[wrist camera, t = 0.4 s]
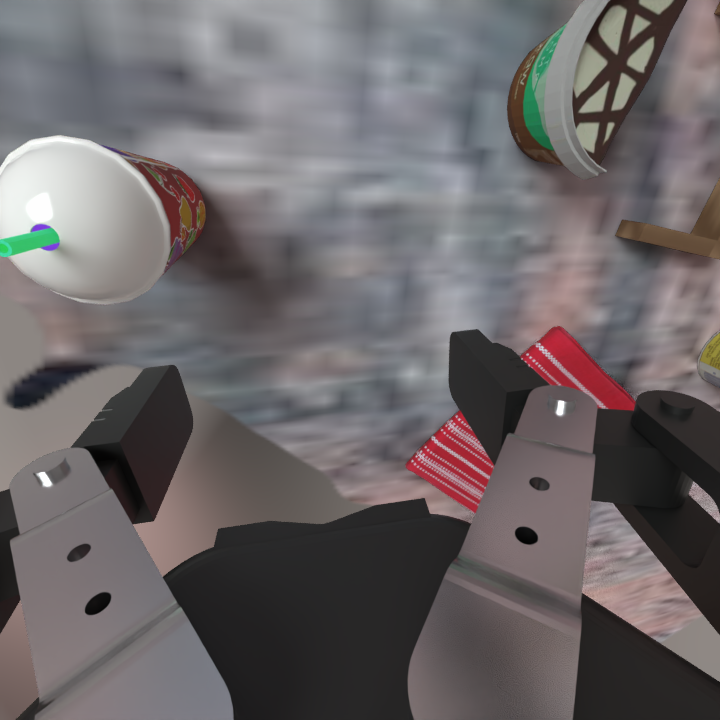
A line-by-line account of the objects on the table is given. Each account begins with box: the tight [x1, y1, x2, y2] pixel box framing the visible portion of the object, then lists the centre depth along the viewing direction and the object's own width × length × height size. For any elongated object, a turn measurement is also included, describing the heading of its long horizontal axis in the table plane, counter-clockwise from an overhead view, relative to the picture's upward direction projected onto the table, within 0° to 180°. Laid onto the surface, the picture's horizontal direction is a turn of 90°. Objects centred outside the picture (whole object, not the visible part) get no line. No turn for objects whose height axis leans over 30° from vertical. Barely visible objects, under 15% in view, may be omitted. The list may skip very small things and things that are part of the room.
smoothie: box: [0, 135, 206, 305], centre depth 24 cm, size 8×8×20 cm
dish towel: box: [406, 326, 636, 513], centre depth 47 cm, size 17×24×3 cm
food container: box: [507, 0, 687, 180], centre depth 28 cm, size 12×6×10 cm, turn 160°
